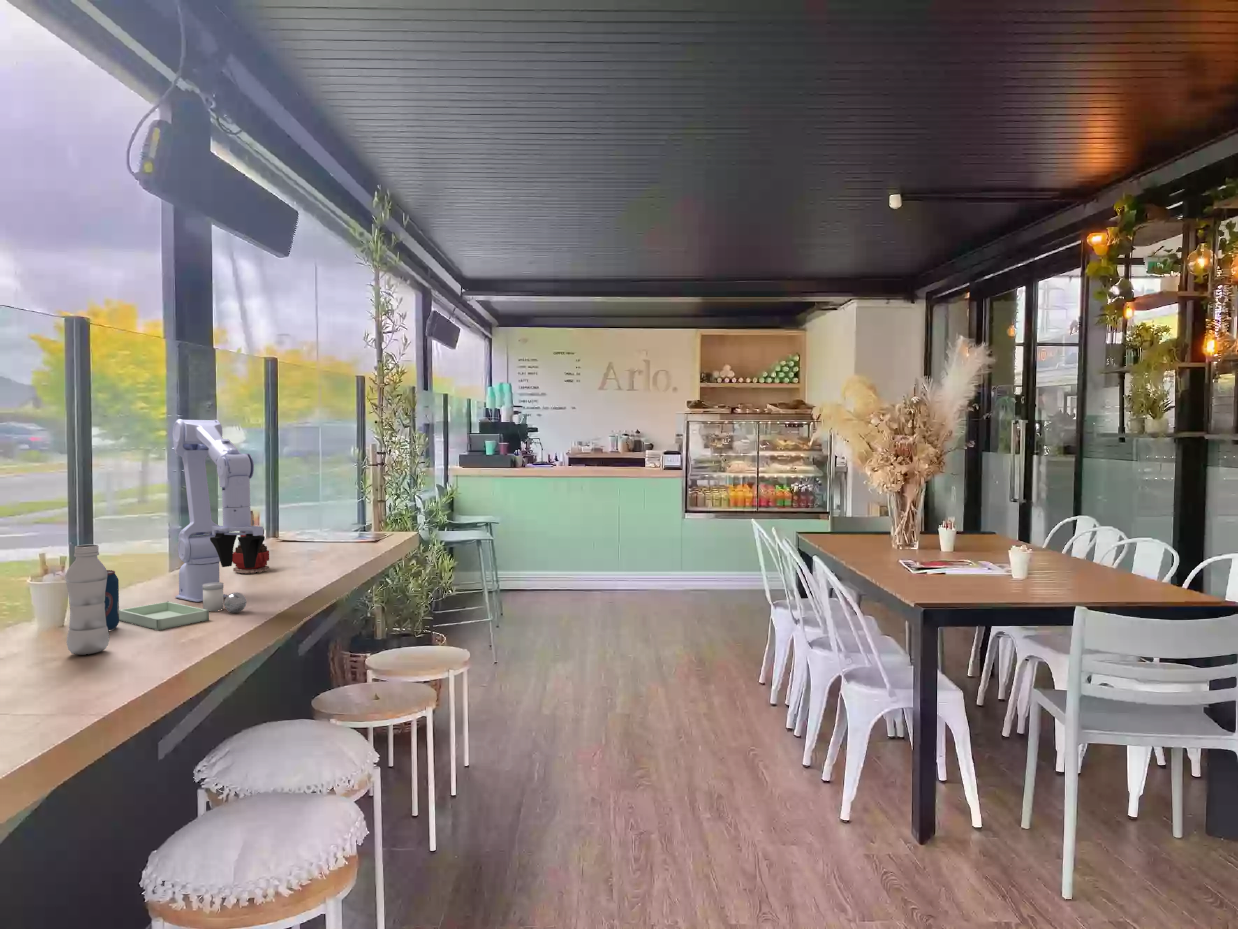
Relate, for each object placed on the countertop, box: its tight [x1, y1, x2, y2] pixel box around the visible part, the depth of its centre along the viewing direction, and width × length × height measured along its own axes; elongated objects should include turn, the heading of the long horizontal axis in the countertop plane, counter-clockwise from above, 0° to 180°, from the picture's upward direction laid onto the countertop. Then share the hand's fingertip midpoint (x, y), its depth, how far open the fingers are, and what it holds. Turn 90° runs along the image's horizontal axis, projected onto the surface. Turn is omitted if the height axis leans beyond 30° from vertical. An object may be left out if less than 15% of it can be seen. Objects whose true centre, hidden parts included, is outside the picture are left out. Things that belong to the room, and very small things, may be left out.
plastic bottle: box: [64, 544, 110, 656], centre depth 148 cm, size 6×7×20 cm
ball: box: [223, 592, 247, 614], centre depth 183 cm, size 5×5×5 cm
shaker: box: [202, 581, 224, 612], centre depth 186 cm, size 4×4×6 cm
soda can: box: [104, 569, 120, 632], centre depth 166 cm, size 7×7×12 cm
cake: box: [232, 510, 270, 575], centre depth 235 cm, size 11×9×18 cm
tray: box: [119, 600, 210, 631], centre depth 175 cm, size 16×11×2 cm
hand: (238, 567), depth 182 cm, fingers open, 7 cm apart
